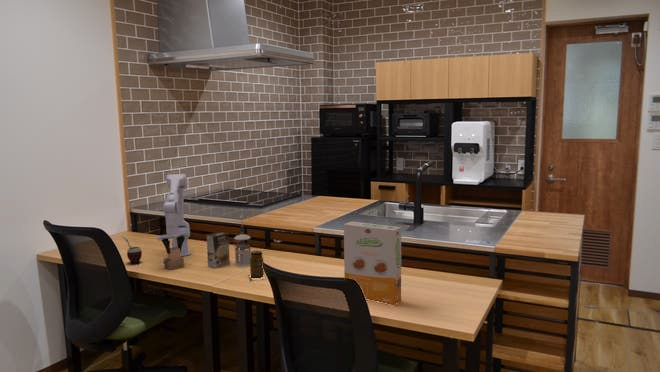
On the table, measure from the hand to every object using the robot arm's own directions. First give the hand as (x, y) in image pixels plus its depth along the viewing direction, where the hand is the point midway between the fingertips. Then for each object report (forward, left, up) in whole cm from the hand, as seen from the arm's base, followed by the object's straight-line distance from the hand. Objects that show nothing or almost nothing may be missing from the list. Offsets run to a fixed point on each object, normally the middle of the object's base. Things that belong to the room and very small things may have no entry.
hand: (174, 252), depth 255 cm
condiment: (+42, +22, -8) cm, 48 cm away
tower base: (0, 0, -8) cm, 8 cm away
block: (0, 0, -3) cm, 3 cm away
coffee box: (+12, +18, -8) cm, 23 cm away
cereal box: (+97, +43, -8) cm, 106 cm away
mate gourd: (-21, -13, -8) cm, 26 cm away
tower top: (0, 0, -6) cm, 6 cm away
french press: (+18, +28, -8) cm, 34 cm away
